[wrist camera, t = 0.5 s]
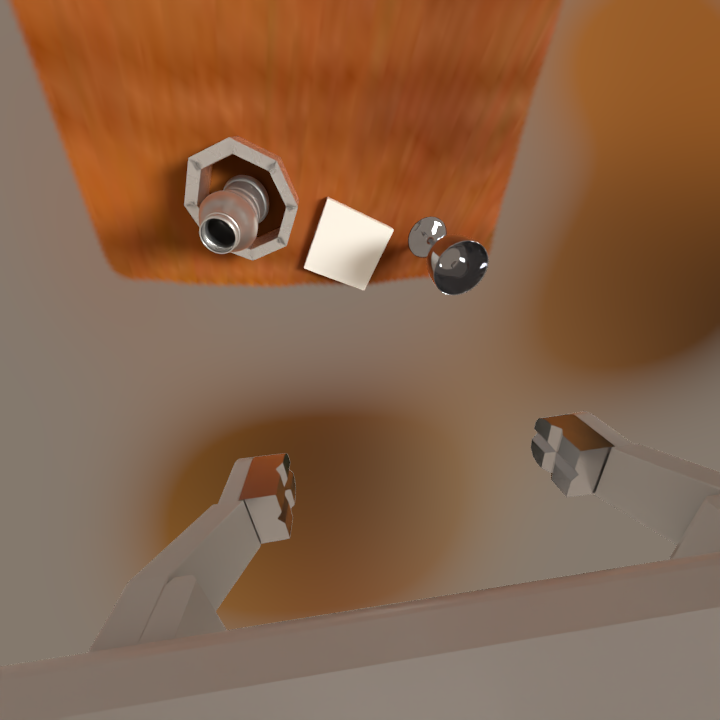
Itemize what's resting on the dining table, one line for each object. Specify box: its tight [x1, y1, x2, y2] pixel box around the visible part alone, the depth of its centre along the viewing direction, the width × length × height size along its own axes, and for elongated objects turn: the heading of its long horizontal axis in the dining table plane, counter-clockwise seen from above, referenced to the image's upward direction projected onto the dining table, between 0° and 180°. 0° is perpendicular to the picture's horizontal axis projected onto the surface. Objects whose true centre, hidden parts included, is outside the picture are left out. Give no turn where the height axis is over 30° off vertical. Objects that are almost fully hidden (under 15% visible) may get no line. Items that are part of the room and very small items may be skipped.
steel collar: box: [184, 136, 299, 260], centre depth 42 cm, size 14×14×6 cm
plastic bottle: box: [199, 175, 269, 254], centre depth 37 cm, size 6×7×20 cm
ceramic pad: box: [304, 197, 394, 291], centre depth 51 cm, size 12×12×2 cm
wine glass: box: [408, 217, 489, 295], centre depth 47 cm, size 8×8×15 cm
